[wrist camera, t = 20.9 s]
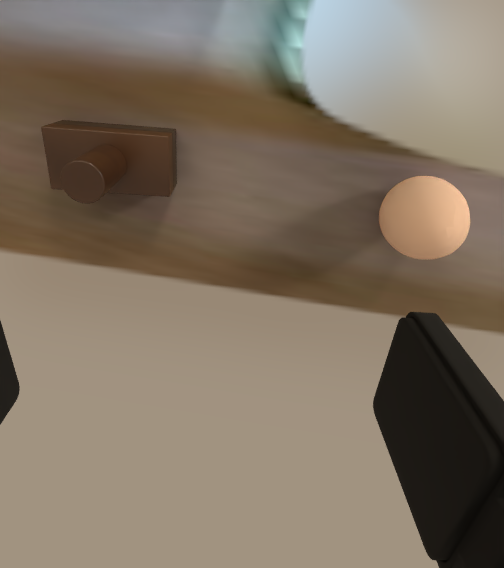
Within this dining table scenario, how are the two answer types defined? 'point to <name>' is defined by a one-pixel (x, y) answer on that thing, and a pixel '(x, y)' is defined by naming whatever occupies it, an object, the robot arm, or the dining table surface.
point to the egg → (424, 217)
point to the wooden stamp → (110, 159)
